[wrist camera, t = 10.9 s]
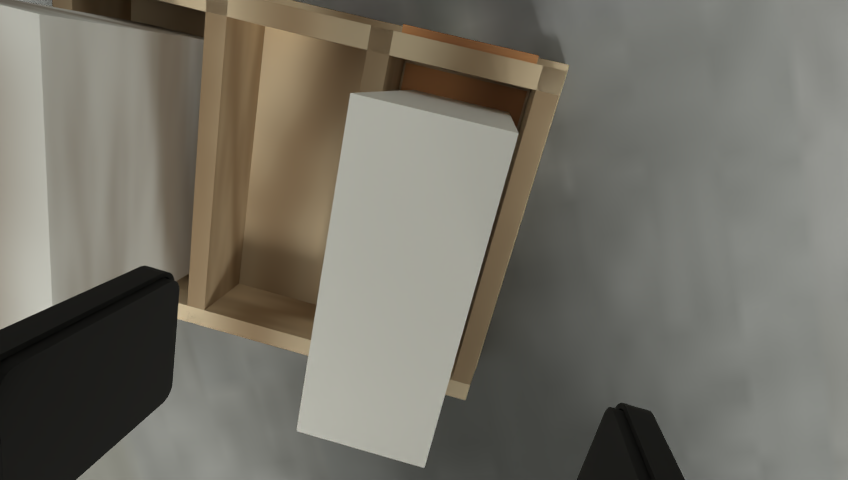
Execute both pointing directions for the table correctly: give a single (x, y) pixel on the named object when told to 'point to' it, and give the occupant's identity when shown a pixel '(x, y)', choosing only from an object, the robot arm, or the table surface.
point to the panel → (401, 266)
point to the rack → (222, 151)
